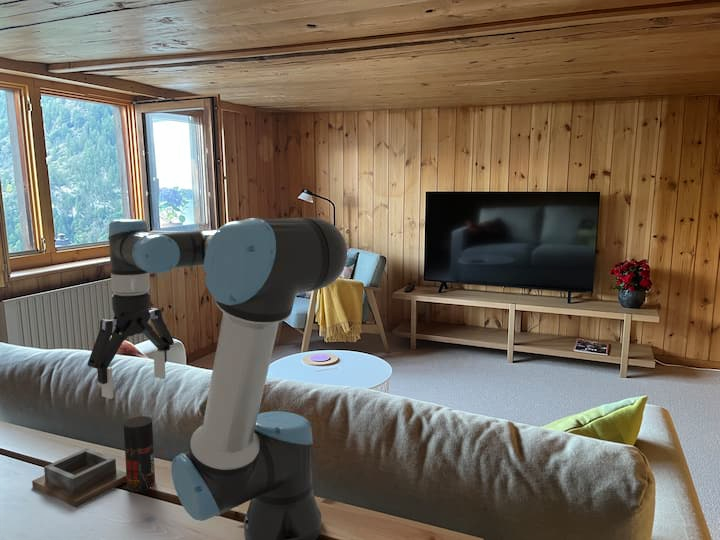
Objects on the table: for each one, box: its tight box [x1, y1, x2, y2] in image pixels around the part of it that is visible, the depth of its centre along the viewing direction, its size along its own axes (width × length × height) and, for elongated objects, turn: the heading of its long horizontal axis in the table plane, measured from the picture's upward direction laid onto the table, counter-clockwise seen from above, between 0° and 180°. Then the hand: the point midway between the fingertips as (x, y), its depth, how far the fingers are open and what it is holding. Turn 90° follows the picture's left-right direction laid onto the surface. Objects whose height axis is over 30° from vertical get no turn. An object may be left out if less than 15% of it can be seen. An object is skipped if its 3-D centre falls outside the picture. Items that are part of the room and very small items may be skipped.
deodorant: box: [123, 415, 156, 493], centre depth 123 cm, size 6×6×15 cm
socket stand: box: [31, 447, 127, 508], centre depth 124 cm, size 16×13×5 cm
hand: (135, 387), depth 120 cm, fingers open, 13 cm apart
